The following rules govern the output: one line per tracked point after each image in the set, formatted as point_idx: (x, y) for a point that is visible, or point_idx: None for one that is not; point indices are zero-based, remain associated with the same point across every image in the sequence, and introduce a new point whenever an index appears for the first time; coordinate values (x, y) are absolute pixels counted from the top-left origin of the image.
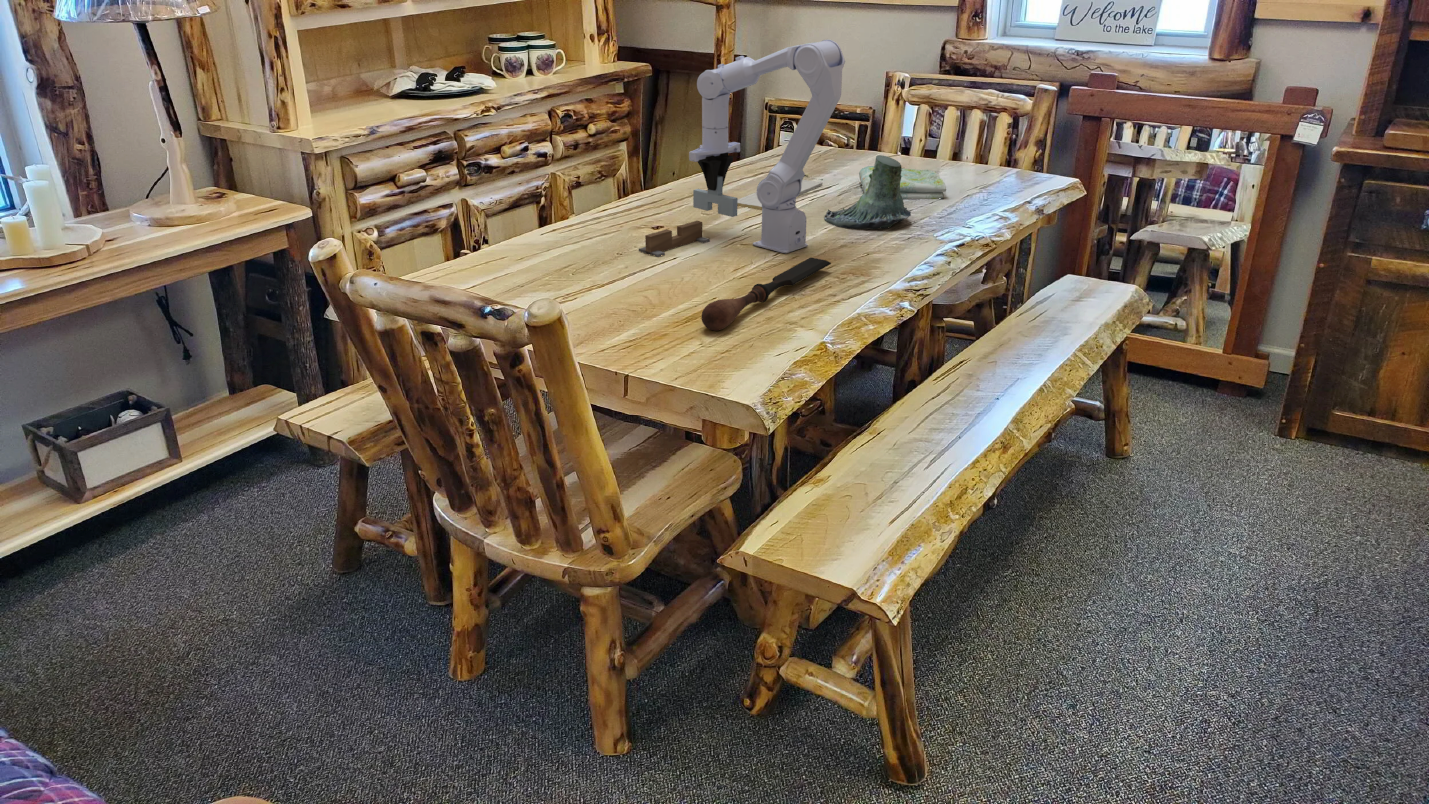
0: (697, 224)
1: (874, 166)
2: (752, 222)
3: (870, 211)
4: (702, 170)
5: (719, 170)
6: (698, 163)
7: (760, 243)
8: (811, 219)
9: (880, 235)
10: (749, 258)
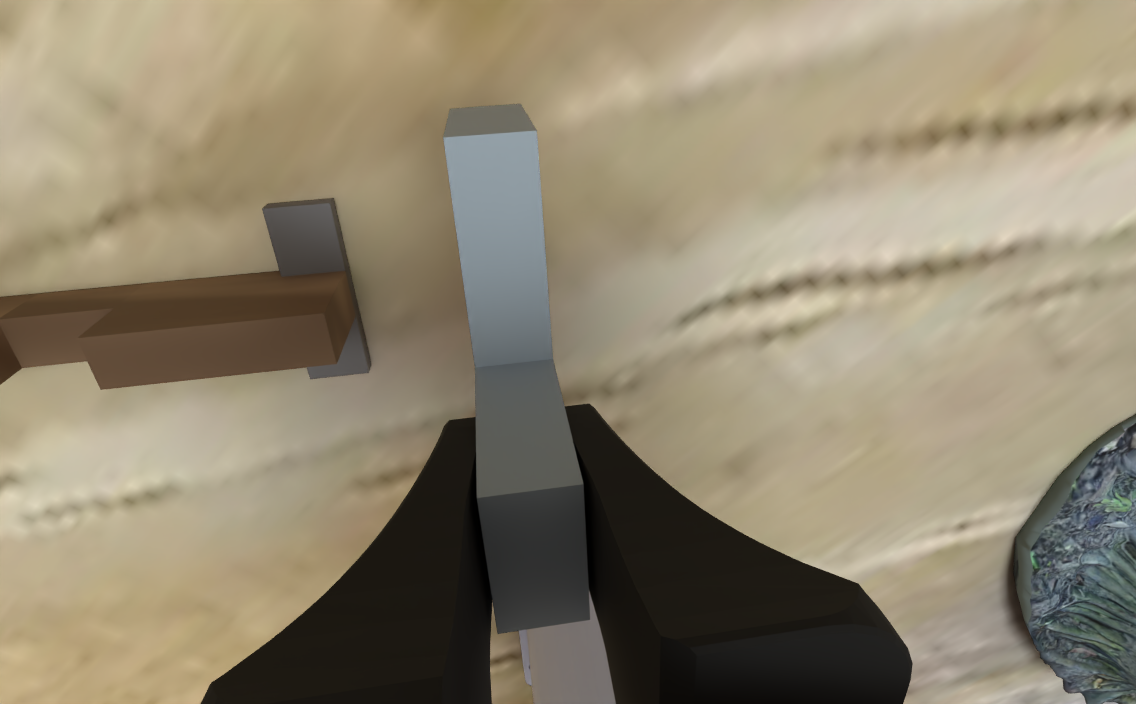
0: (282, 366)
1: None
2: (871, 228)
3: (1133, 653)
4: (351, 575)
5: (608, 633)
6: (247, 659)
7: None
8: (1086, 390)
9: (976, 675)
10: None
